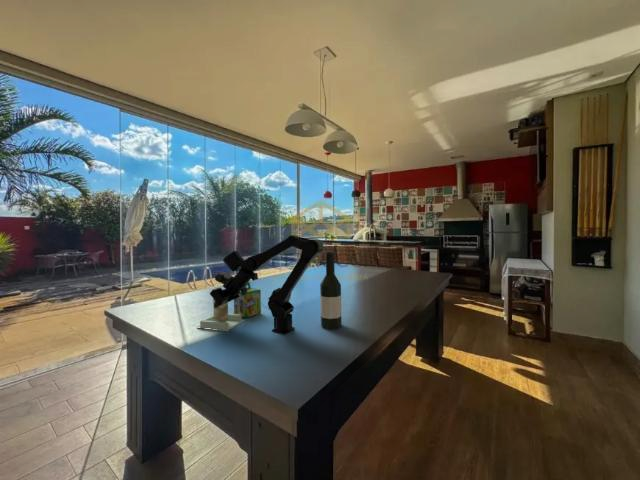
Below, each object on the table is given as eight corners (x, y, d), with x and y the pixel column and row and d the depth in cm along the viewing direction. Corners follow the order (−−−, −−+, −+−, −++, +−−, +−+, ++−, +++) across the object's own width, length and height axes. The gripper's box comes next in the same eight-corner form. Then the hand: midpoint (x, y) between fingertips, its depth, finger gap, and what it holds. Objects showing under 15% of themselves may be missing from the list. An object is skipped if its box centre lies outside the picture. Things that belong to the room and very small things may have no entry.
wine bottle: (340, 330, 106) (338, 252, 105) (318, 328, 108) (317, 252, 107) (342, 322, 114) (341, 250, 113) (323, 321, 116) (321, 250, 115)
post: (228, 320, 116) (227, 289, 115) (222, 323, 112) (221, 291, 111) (220, 319, 117) (219, 289, 116) (214, 322, 113) (213, 291, 113)
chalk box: (245, 318, 122) (245, 285, 122) (233, 315, 128) (232, 283, 127) (261, 313, 130) (261, 282, 129) (249, 310, 135) (248, 280, 135)
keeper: (243, 321, 118) (243, 314, 118) (227, 331, 107) (227, 323, 107) (215, 319, 122) (215, 312, 122) (196, 328, 110) (196, 321, 110)
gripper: (240, 262, 122) (219, 287, 125) (213, 268, 104) (189, 296, 107) (257, 281, 120) (235, 305, 123) (232, 290, 102) (207, 318, 105)
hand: (217, 305), depth 114 cm, fingers closed on post, 4 cm apart
